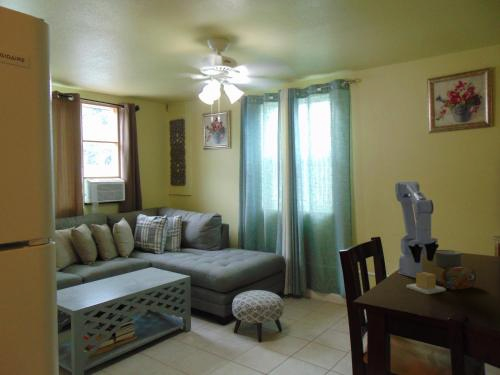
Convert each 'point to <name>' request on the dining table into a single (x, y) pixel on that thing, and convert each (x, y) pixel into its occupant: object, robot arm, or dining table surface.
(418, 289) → the base plate
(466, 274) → the tin
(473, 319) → the dining table surface
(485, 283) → the dining table surface
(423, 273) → the yellow-orange cube block
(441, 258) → the can
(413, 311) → the dining table surface
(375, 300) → the dining table surface
